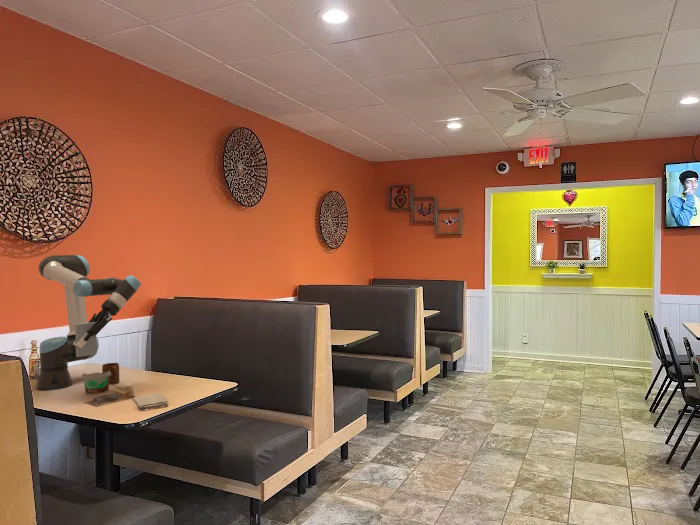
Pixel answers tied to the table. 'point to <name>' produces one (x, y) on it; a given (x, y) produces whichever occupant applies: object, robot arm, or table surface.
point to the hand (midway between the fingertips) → (77, 346)
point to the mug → (112, 372)
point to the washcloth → (151, 401)
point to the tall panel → (91, 344)
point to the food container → (96, 382)
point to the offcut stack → (124, 391)
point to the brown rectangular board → (105, 400)
